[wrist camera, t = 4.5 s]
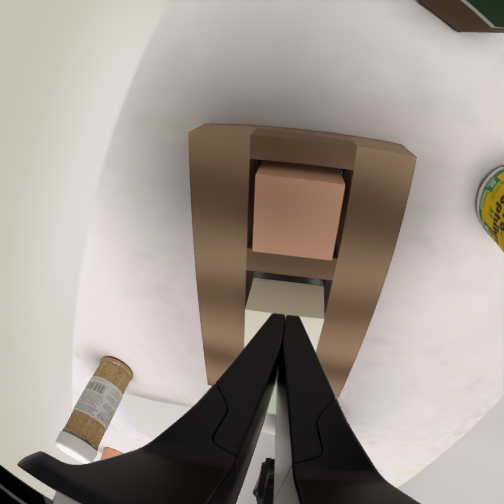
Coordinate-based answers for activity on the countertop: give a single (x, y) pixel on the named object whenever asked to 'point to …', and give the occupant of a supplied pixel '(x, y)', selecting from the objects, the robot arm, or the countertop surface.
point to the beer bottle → (470, 14)
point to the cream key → (284, 306)
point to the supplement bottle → (492, 206)
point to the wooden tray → (246, 261)
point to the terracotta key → (297, 209)
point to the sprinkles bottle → (94, 410)
